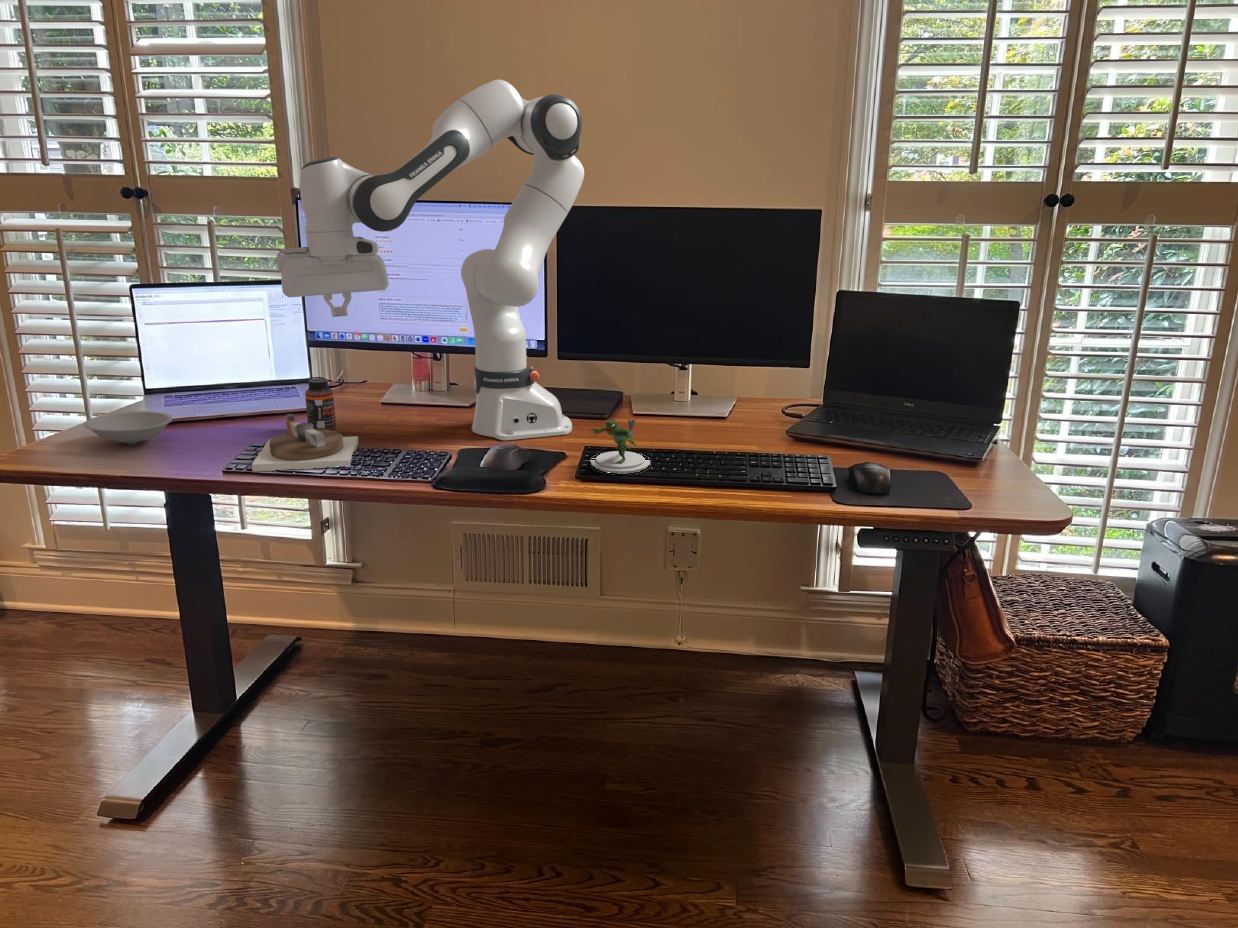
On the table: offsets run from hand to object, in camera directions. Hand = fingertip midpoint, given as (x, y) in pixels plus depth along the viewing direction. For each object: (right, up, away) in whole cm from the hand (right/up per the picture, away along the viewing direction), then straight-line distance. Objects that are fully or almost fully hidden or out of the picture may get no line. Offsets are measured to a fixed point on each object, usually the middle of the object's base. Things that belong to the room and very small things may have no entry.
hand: (339, 316), depth 177 cm
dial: (-7, -27, +1) cm, 28 cm away
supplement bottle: (-10, -22, +20) cm, 32 cm away
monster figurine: (+56, -30, -1) cm, 64 cm away
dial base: (-7, -28, +2) cm, 29 cm away
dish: (-47, -26, +9) cm, 54 cm away
